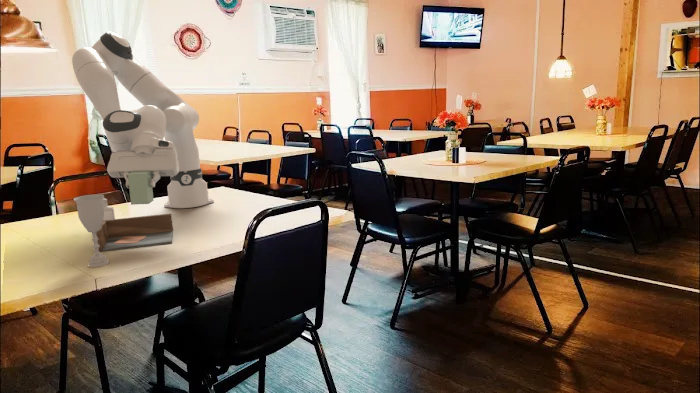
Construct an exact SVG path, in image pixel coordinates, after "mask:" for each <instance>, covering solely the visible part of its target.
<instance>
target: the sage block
mask: <svg viewBox="0 0 700 393" xmlns="http://www.w3.org/2000/svg"><path fill="white" fill-rule="evenodd" d="M149 180H152V177H151V171H143V172H131V173H129V174H128V181H129V188H128V189H129V190H128V191H129V198H130V205H149V204H151V203H152V202H153V201H154V192H153V191H154V190H153V187H149V185H148V183H149Z"/></svg>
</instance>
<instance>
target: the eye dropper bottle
mask: <svg viewBox="0 0 700 393" xmlns="http://www.w3.org/2000/svg"><path fill="white" fill-rule="evenodd" d="M102 201H103V208H104V218H103V220H113V219H116V215H115V209H114V207H113V206H111V205H108V198H105V196H104V197H103V199H102Z"/></svg>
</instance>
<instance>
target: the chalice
mask: <svg viewBox="0 0 700 393" xmlns="http://www.w3.org/2000/svg"><path fill="white" fill-rule="evenodd" d="M103 197H104V198H105V196H104V194H101V193H98V194H97V193H96V194H85V195H81V196H76V197H74V198H73V200H74V202H75V203H76V210H77V215H78V219H79V221H80V222H81V224H82V225H83V227H84V228H85V229H86V231H87V233H91V235H92V238H91V241H92V243H93V245H92V248H93V250H94V253H93V255H91V256H90V258H89V262H88V265H89V266H92V267H91V268H99V267H98V266H100V267H104V266H106V265H108V264H110V261H109V260H108V258H107V257H106V255H104V253H101V252H99V246H100V245H98V243H97V242H98V238H97V235H96V233H97V231H99V230H100V228H101V225H102V222H103V218H104V208H103V201H102V199H103ZM89 266H88V267H89Z"/></svg>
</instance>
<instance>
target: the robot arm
mask: <svg viewBox="0 0 700 393" xmlns="http://www.w3.org/2000/svg"><path fill="white" fill-rule="evenodd" d="M71 61H72V62H71V64H72V67H73V68H72V69H73V71H74V75H75V78H76V79H77V82H78V84H79V86H80V87H81V88H82V90H83V92H84V93H85V95H86V96H87V98H88V100H89V101H90V102H91V103H92V105H93V106H94V108H95V109H96V111H97V113H98V114H99V115H100V117H101V118H102V127H103V130H104V133H105V136H106V138H107V141H108V144H109V147H110V151H111V154H110V158H109V161H108V163H107V167H106V171H107V173H108V175H109V176H110V177H111V178H115V179H116V178H118V179H119V178H124V179H125V187H126V189H129V181H128V174H129V173H131V172H143V171H151V179H152V180H149V183H148V185H149V187H152V188H155V187H156V183H157V182H158V181H159V180H161V177H170V183H169V184H168V185H167V187H166V188H167V189H166V190H167V198H168V199H167V200H168V201H166V202H165V203H164V204H163V207H164V208H171V209H172V208H174V209H189V208H197V207H201V206H205V205H208V204H211V203H214V202H215V201H214V199H213V198H212V197H210V196H209V190H208V183H207V182H206V181H205V180H204V179H203V171H202V168H201V163H200V154H199V153H200V152H199V148H198V145H197V143H196V140H195V135H194V130H195V129H196V128H197V127H198V125H199V122H200V114H199V113H198V111H197V110H196V109H195V108H194V107H193V106H191V105H190V104H189V103H188V102H186V101H185V100H184V99H183V98H182V97H180V96H179V95H177V93H175V92H174V91H173V90H171V89H170V88H168V87H167V86H166V85H165V84H164V83H163V81H161V80H160V79H159V78H158V77H157V76H156V75H154V74H153V73H152V72H151V70H149V69H148V68H147V67H146V66H145V65H143V64H142V63H141V62H139V61H137V59H134V54H133V53H132V47H131V45H130V43H129V42H128V40H127V39H126V38H124V37H123V35H120V34H119V33H117V32H114V31H106V32H105V33H103V34H102V35H101V36H100V38H99V39H98V40H96V42H95V43H94V44H93V45H92V46H91V47H82V48H79V49H77V50H76V51H74V53H73V55H72V57H71ZM115 78H116V79H117V80H118V82H120V84H121V85H122V86H123V87H124V88H125V89H126V91H127V92H129V94H131V95H132V96H133V97H134V98H135V99H136V100H137V101H138V102H139V103H141V105H143V106H141V107H140V108H137V109H133V110H122V109H121V106H120V99H119V94H118V87H117V82H116V79H115Z"/></svg>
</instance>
